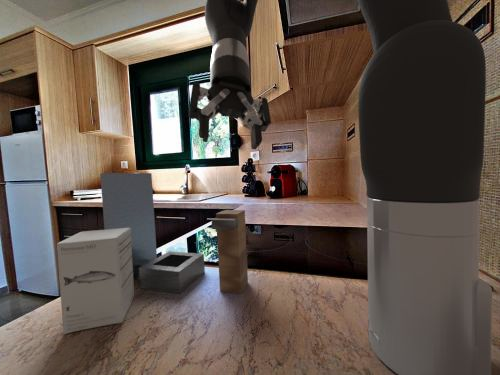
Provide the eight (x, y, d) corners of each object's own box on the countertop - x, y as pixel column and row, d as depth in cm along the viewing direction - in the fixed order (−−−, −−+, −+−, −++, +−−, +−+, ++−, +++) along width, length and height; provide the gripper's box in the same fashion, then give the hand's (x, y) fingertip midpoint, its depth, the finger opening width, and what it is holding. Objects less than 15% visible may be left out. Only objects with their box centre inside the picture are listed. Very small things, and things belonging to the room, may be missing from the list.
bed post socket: (206, 270, 47) (200, 170, 46) (178, 295, 37) (170, 169, 36) (147, 264, 51) (141, 173, 50) (108, 285, 42) (100, 173, 41)
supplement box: (61, 336, 28) (52, 243, 28) (87, 305, 36) (81, 230, 35) (123, 324, 30) (116, 237, 30) (136, 296, 37) (131, 225, 37)
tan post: (247, 282, 41) (244, 210, 40) (237, 299, 35) (233, 215, 34) (228, 280, 42) (225, 210, 41) (215, 296, 36) (211, 215, 36)
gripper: (194, 42, 36) (189, 121, 30) (271, 64, 40) (280, 137, 34) (190, 78, 42) (185, 149, 36) (257, 94, 47) (262, 159, 41)
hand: (231, 143), depth 35 cm, fingers open, 8 cm apart
